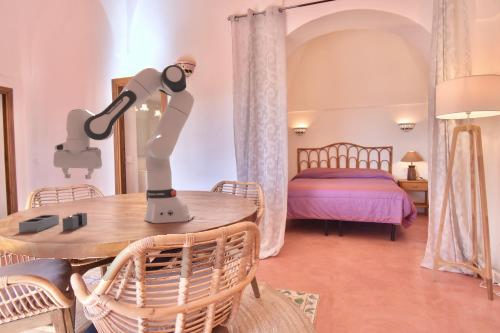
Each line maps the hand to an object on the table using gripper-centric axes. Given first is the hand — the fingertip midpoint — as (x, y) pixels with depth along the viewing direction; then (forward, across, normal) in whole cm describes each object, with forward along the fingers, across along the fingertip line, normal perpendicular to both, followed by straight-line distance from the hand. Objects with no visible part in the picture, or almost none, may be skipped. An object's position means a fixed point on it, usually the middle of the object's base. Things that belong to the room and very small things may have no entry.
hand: (77, 178), depth 127 cm
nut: (+20, -2, +1) cm, 20 cm away
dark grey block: (+20, -3, +8) cm, 22 cm away
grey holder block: (+21, +12, +6) cm, 25 cm away
